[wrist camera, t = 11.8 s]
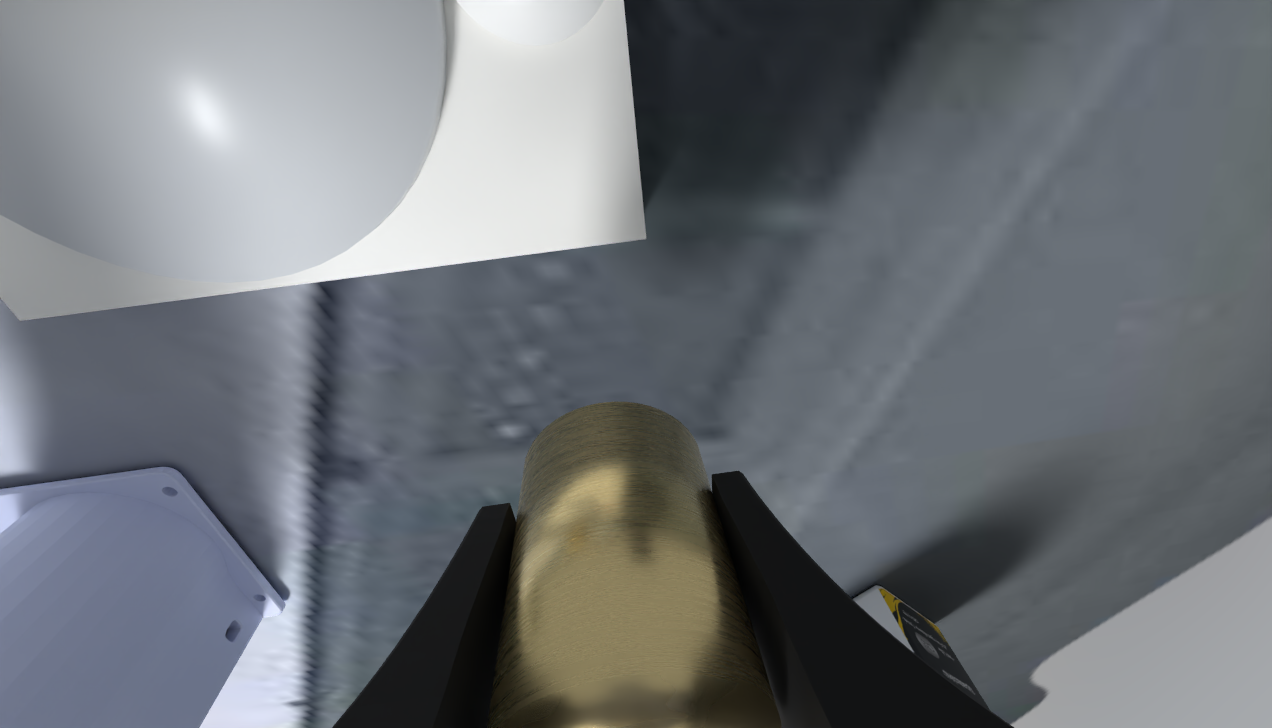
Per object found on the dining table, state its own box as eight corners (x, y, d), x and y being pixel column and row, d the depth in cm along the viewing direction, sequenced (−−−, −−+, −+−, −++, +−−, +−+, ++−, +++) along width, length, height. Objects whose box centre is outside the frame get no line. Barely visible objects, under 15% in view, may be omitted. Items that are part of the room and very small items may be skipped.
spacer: (703, 521, 14) (774, 788, 9) (543, 544, 14) (520, 828, 9) (698, 389, 11) (791, 650, 6) (504, 416, 11) (442, 703, 6)
